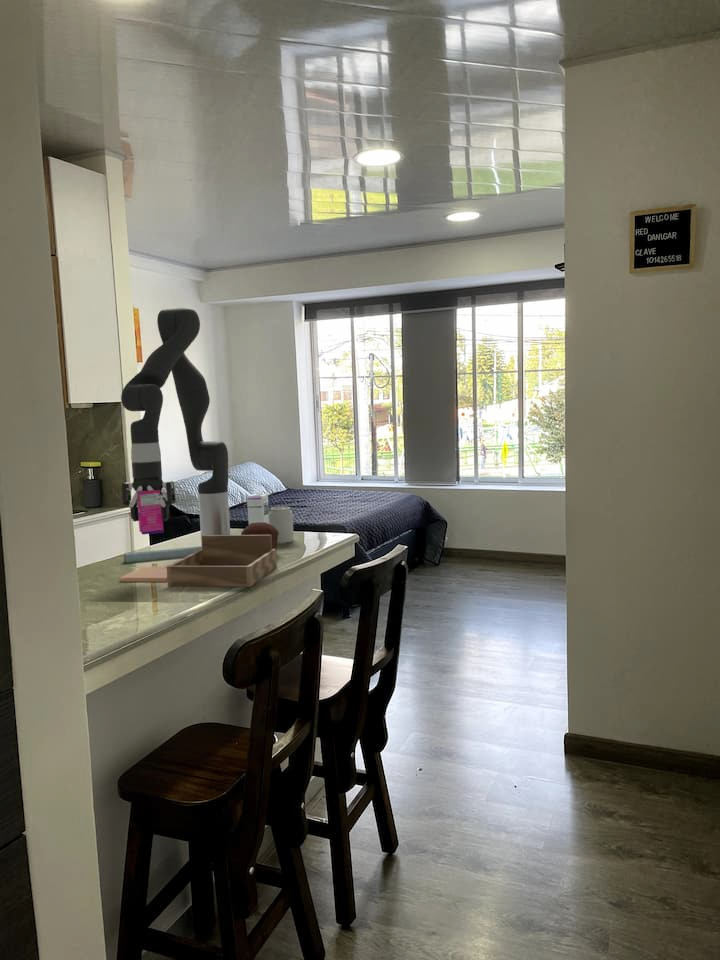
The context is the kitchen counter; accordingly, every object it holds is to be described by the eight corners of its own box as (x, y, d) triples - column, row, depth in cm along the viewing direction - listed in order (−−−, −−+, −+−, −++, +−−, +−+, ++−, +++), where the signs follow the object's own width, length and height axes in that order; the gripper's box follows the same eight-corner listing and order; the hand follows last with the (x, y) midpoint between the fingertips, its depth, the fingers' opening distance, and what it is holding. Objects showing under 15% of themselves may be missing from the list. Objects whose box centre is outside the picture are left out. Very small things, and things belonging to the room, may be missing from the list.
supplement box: (138, 531, 201) (135, 489, 199) (161, 529, 203) (158, 487, 202) (141, 534, 195) (138, 491, 194) (164, 532, 198) (161, 489, 196)
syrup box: (265, 538, 252) (263, 495, 250) (248, 538, 253) (246, 495, 251) (270, 535, 257) (268, 493, 256) (254, 535, 258) (252, 493, 257)
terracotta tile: (142, 570, 208) (142, 566, 208) (186, 570, 206) (186, 566, 205) (119, 581, 195) (119, 577, 195) (166, 581, 193) (166, 577, 193)
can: (273, 542, 243) (272, 505, 242) (296, 541, 242) (294, 505, 241) (267, 546, 236) (265, 509, 235) (290, 546, 235) (289, 508, 234)
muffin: (234, 560, 217) (232, 526, 216) (250, 552, 228) (248, 520, 227) (272, 560, 214) (270, 526, 213) (286, 553, 224) (285, 520, 223)
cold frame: (201, 566, 209) (199, 535, 209) (276, 566, 205) (275, 534, 205) (167, 586, 188) (165, 550, 187) (251, 586, 184) (249, 550, 183)
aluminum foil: (203, 556, 227) (202, 545, 226) (204, 560, 220) (203, 549, 220) (125, 563, 221) (124, 552, 220) (124, 567, 214) (123, 556, 214)
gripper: (177, 458, 200) (181, 518, 201) (128, 459, 202) (132, 519, 204) (165, 460, 192) (169, 522, 194) (114, 461, 195) (118, 523, 196)
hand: (150, 520), depth 199 cm, fingers closed on supplement box, 8 cm apart
